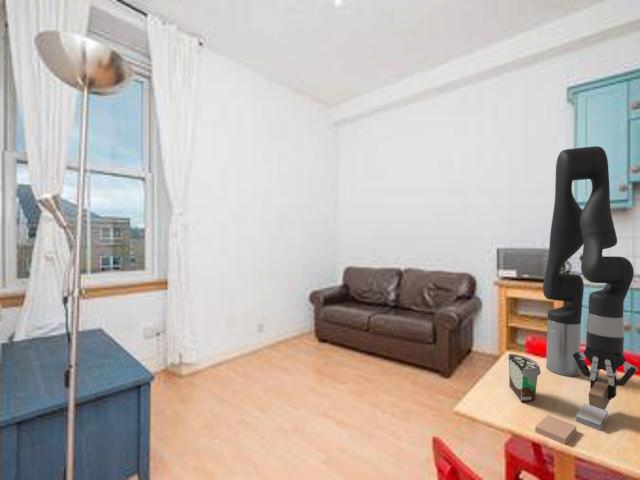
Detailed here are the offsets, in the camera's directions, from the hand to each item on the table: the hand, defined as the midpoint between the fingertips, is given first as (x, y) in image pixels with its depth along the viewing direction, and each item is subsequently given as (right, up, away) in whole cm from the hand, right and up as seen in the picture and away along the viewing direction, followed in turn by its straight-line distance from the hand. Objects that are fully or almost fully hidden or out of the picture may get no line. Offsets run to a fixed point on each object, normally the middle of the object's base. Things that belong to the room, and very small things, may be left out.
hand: (602, 395), depth 89 cm
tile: (-15, -4, -6) cm, 17 cm away
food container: (-15, -4, +9) cm, 18 cm away
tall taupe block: (-3, -3, -2) cm, 5 cm away
